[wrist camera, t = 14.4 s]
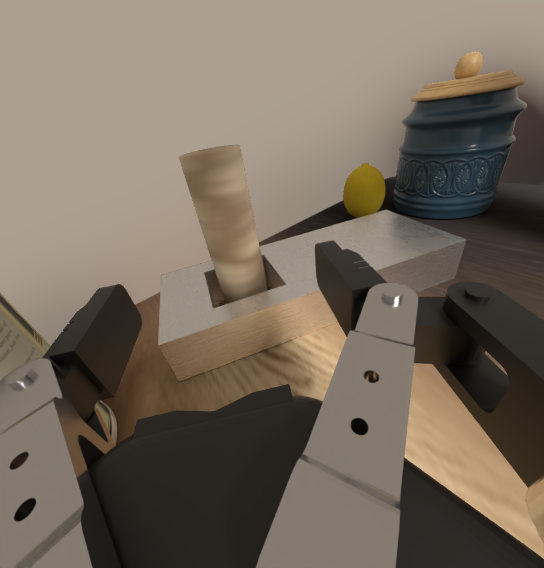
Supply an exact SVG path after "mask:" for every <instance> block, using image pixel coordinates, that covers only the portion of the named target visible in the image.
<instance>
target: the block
mask: <svg viewBox="0 0 544 568" xmlns="http://www.w3.org/2000/svg"><path fill="white" fill-rule="evenodd" d="M331 240H334V241H335V242H336V243H337V244H338V245H339V247H340V248H341V249H342V250H344V249H349V250H352V251H354V252H356V253H358V254H359V255H360V256H361V257H362V258H363V259H364V260H365V261H366V262H367V263H368V264H369V265H370V266H371V267H372V268H373V269H374V270H375V271H376V272H377V273H378V274H379V275H380V276H381V277H382V278H383V279H384V280H385V281H386V282H387V283H396V284H400V285H404V286H406V287H408V288H410V289H412V290H413V291H414V292H415V293H417V292H419V291H422V290H425V289H427V288H430V287H433V286H435V285H438V284H441V283H443V282H446V281H449V280H451V279H454V278H455V275H456V272H457V269H458V265H459V262H460V259H461V256H462V252H463V249H464V246H465V243H466V239H463V238H460V237H458V236H455V235H452V234H450V233H447V232H444V231H442V230H439V229H436V228H434V227H431V226H428V225H426V224H423V223H420V222H418V221H415V220H412V219H409V218H407V217H404V216H401V215H399V214H396V213H393V212H391V211H388V210H384V211H380V212H377V213H373V214H370V215H366V216H363V217H360V218H356V219H353V220H349V221H346V222H342V223H339V224H335V225H332V226H329V227H325V228H322V229H318V230H315V231H311V232H308V233H304V234H301V235H298V236H294V237H291V238H287V239H284V240H280V241H277V242H273V243H270V244H267V245H263V246H260V251H261V257H262V262H263V267H264V272H265V277H266V282H267V287H268V288H269V287H270V288H271V290H268V291H265V292H262V293H259V294H256V295H253V296H250V297H247V298H244V299H241V300H238V301H235V302H232V303H229V304H226V305H223V306H220V307H217V308H216V305H217V304H220V303H223V302H225V300H224V296H223V293H222V290H221V287H220V284H219V281H218V278H217V275H216V272H215V269H214V265H213V262H212V260H211V261H208V262H205V263H201V264H198V265H194V266H191V267H188V268H184V269H180V270H177V271H174V272H170V273H167V274H163V275H161V292H160V313H159V335H158V346H159V348H160V350H161V351H162V353H163V355H164V357H165V358H166V360H167V362H168V363H169V365H170V367H171V369H172V370H173V372H174V374H175V375H176V377H177V379H178V381H179V382H180V381H183V380H186V379H188V378H191V377H194V376H196V375H199V374H201V373H204V372H207V371H209V370H212V369H215V368H217V367H220V366H223V365H225V364H228V363H231V362H233V361H236V360H239V359H241V358H244V357H247V356H249V355H252V354H255V353H257V352H260V351H263V350H265V349H268V348H271V347H273V346H276V345H279V344H281V343H284V342H287V341H289V340H292V339H294V338H297V337H300V336H302V335H305V334H308V333H310V332H313V331H316V330H318V329H321V328H324V327H326V326H329V325H332V324H334V323H337V322H338V321H337V319H336V317H335V315H334V314H333V312H332V310H331V308H330V307H329V305H328V303H327V301H326V300H325V298H324V296H323V294H322V292H321V291H320V289H319V286H318V283H317V278H316V265H315V244H317V243H321V242H326V241H331Z"/></svg>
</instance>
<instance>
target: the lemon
mask: <svg viewBox="0 0 544 568" xmlns="http://www.w3.org/2000/svg"><path fill="white" fill-rule="evenodd" d="M384 197H385V182H384V178H383V176H382V174H381V172H380V171H379V170H378V169H376V168H375V167H372V166H370V165H369V164H368V163H364V164H362V166H361V167H359V168H357V169H356V170H354V171H353V172H352V173H351V174H350V175H349V177H348V178H347V181H346V184H345V187H344V195H343V198H344V204H345V207H346V209H347V211H348V212H349V213H350V214H351V215H352V216H354V217H357V218H360V217H363V216H366V215H370V214H373V213H376V212H377V211H378V210H379V209H380V207H381V206H382V203H383V201H384Z"/></svg>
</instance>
